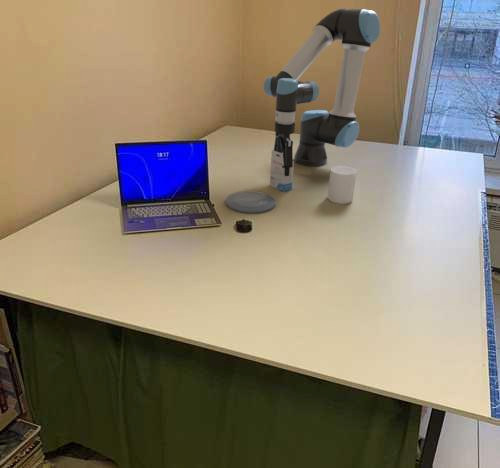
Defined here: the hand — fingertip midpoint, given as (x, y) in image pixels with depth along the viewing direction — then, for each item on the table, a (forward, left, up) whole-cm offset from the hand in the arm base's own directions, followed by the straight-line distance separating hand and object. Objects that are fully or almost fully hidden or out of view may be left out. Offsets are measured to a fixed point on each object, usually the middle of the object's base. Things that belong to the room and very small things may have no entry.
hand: (281, 178), depth 190 cm
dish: (+16, +14, -4) cm, 22 cm away
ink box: (0, 0, -4) cm, 4 cm away
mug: (-18, +15, -4) cm, 24 cm away
